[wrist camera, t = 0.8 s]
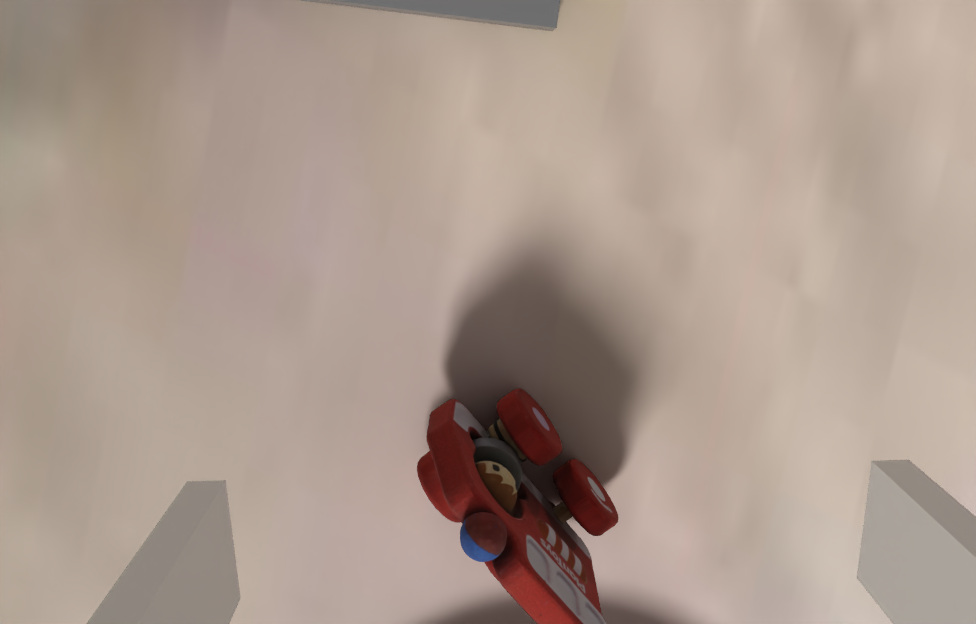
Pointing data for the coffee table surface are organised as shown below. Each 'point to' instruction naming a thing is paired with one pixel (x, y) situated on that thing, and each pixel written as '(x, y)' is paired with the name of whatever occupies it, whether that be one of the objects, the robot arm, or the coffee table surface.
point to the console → (471, 10)
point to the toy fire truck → (518, 506)
